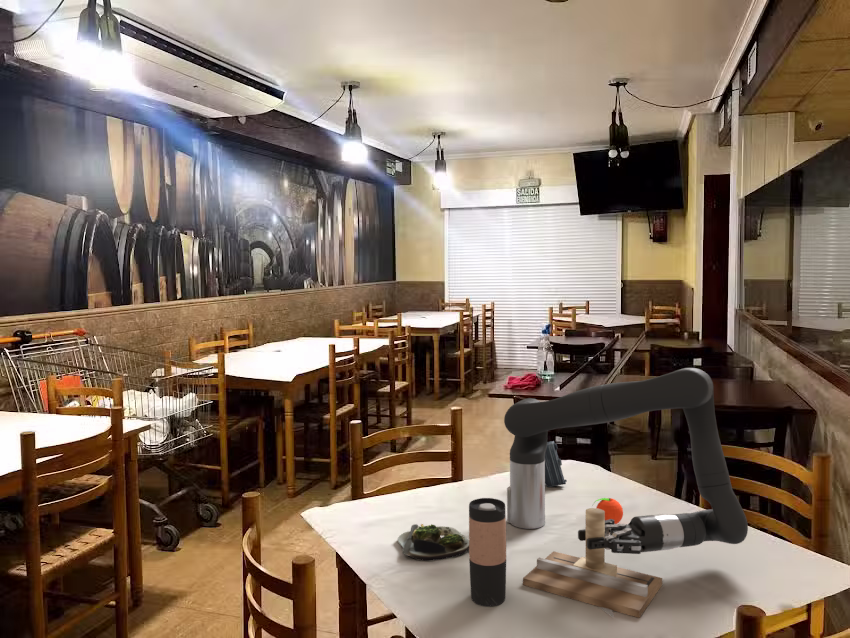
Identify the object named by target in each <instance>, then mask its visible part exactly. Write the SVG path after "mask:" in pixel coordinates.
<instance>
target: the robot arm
mask: <svg viewBox="0 0 850 638" xmlns="http://www.w3.org/2000/svg"><path fill="white" fill-rule="evenodd" d="M714 396H715V393H714V382H713V380H712V378H711V376H710V375H709V374H708V373H706V371H703V370H702V369H700V368H695V367H684V368H681V369H677V370H674V371H672V372H669V373H666V374H662V375H660V376H655V377H652V378H648V379H645V380H636V381H621V382H613V383H606V384H604V383H603V384H601V385H596V386H595V385H594V386H590V387H587V388H583V389H579V390H577V391H573V392H570V393H568V394H566V395H563V396H560V397H557V398H555V399H550V400H545V401H540V400H538V399H536V398H531V397H528V398H524V399H521V400H519V401H518V402H515V403H514V404H512V405H511V406H509V408H508V409H507V411H506V412H505V415H504V419H503V421H504V426H505V428H506V430H507V431H508V432H509V433H510V434H511V435H514V438H513V443H512V445H511V446H510V448H509V486H508V487H507V488H506V509H507V510H506V512H507V513H506V517H507V518H506V519H507V520H506V521H507V522H506V523H509V524H511V525H512V526H514V527H517V528H520V529H527V530H530V529H531V530H532V529H533V530H534V529H540V528H541V527H544V526H545V524H546V484H545V452H546V448H547V442H548V432H549V431H553V430H557V429H564V428H565V429H566V428H574V427H575V428H576V427H585V426H592V425H599V424H607V423H613V422H616V421H620V420H624V419H628V418H629V419H630V418H632V417H635V416H638V415H641V414H645V413H648V412H653V411H654V412H655V411H663V410H675V409H682V410H683V413H684V415H685V418H686V422H687V427H688V432H689V437H690V447H691V460H692V466H693V471H694V475H695V480H696V485H697V489H698V492H699V494H700V496H701V497H702V499H704V500H705V501H707V502H708V503H709V504H710V507H711V509H703V510H698V511H697V510H696V511H694V512H691V513H690V512H686V513H685V512H683V513H675V514H674V513H672V514H668V513H662V514H661V513H659V514H649V515H639V516H633V517H632V518H631V519H630V522H629V523H628V524H626V523H617V524H615V523H614V519H609V520H605V539H604V537H595V538H588V539H587V548H588V549H600V548H605V550H606V551H608V550H610V551H611V553H613V554H626V555H627V554H629V555H632V554H633V555H640V554H641V553H650V552H660V551H670V550H674V549H679V548H687V547H693V546H695V547H696V546H698V545H702V544H703V542H721V543H725V544H730V545H738V544H741V543H743V542H744V541H745V540H746V538H747V535H748V531H749V525H748V521H747V520H748V519H747V516H746V514H745V512H744V510H743V507H742V506H741V504H740V501H739V500H738V498H737V495H736V493H735V491H734V490H733V486H732V483H731V478H730V473H729V470H728V469H729V468H728V466H727V462H726V458H725V455H724V451H723V446H722V444H721V439H720V434H719V430H718V424H717V419H716V418H717V417H716V412H715V410H716V409H715V397H714ZM577 539H578V540H579V541H580V542H581V541H585V542H586V528H585V529H579V530H578V531H577Z"/></svg>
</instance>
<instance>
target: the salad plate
mask: <svg viewBox="0 0 850 638" xmlns="http://www.w3.org/2000/svg"><path fill="white" fill-rule="evenodd" d="M397 541H398V544H399V546H400V547H402V554H403V555H405V556H408V557H411V558H412V559H415V560H418V561H425V562H426V561H428V562H429V561H439V560H440V561H441V560H444V559H445V560H446V559H450V558H457V557H459V556H461V555H464V554H465V553H467V551H469V538H467V537H466V536H465V535H464V534H463V533H461V532H460V531H459V530H458V529H456V528H454V527H451V526H444V525H443V526H441V525H440V526H439V525H438V526H436V525H435V524H432V523H431V524H429V525H424V523H423V524H422V523H421V524H420V526H419V525H418V524H417V523H416V524H415V523H414V524H412V525H411V527H410V531H407V532H403V533H401V534H400V535H398V537H397Z"/></svg>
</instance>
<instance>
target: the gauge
mask: <svg viewBox="0 0 850 638" xmlns="http://www.w3.org/2000/svg"><path fill="white" fill-rule="evenodd" d="M585 529H586V540H585V556H581V557H579V558H580V559H579V560H578V561H577V562H576V563H575V564H574V565H573V566H574V567H578V568H582V569H586V570H590V571H594V572H598V573H602V574H606V575H610V576H614V577H615V576H616V575H617V567H618V565H617V564H613V563H609V562H605V559H606V558H605V557H606V556H605V550H606V549H605V548H600V549H588V548H587V539H588V538H595V537H604V539H605V511H604V510H602V509H598V508H596V507H591V508H586V509H585Z"/></svg>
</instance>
